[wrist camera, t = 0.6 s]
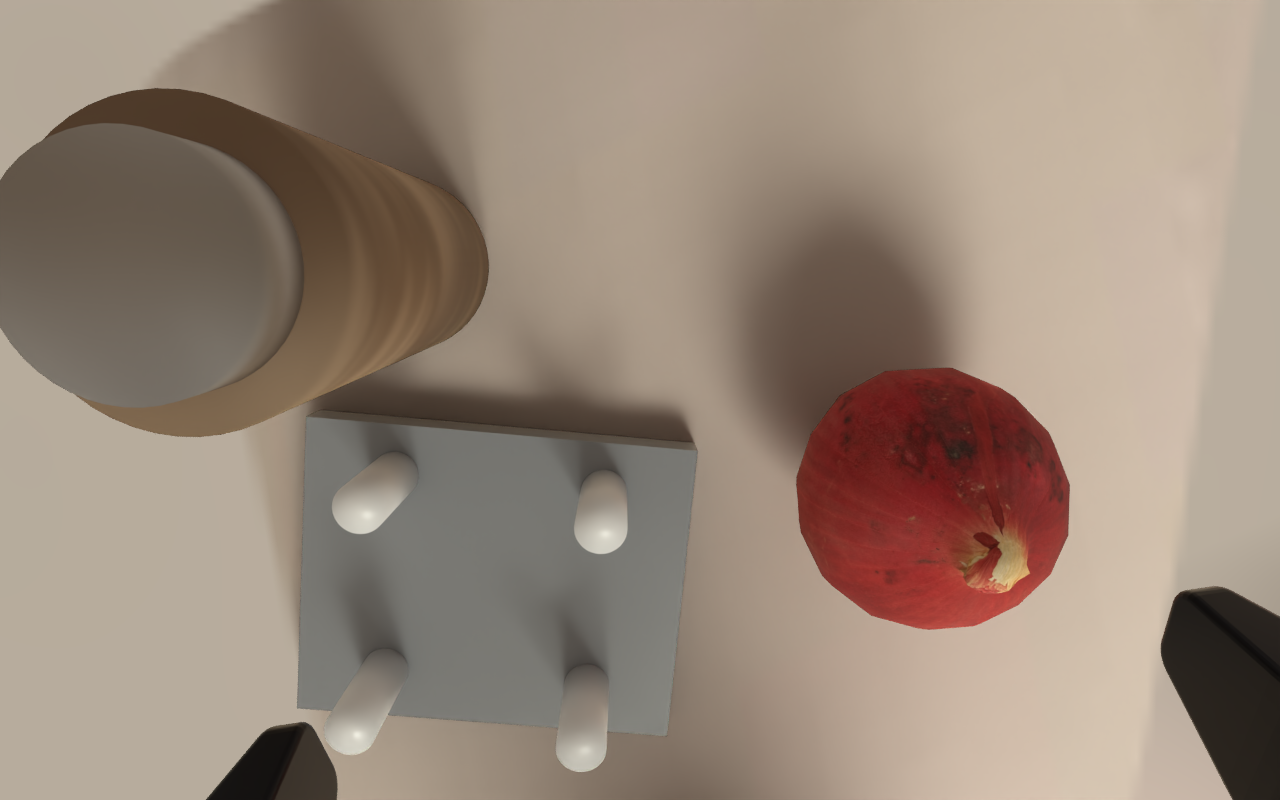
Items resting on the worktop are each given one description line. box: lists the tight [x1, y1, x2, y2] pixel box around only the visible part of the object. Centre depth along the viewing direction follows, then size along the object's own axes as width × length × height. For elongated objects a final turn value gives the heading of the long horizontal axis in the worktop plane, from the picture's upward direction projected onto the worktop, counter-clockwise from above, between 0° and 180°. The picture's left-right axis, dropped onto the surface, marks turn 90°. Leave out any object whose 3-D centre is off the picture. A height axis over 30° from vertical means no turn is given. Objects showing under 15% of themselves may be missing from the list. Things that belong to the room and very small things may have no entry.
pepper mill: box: [0, 88, 489, 437], centre depth 16 cm, size 4×4×12 cm
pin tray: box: [297, 410, 698, 772], centre depth 21 cm, size 8×10×4 cm
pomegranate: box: [796, 368, 1070, 630], centre depth 19 cm, size 6×6×8 cm
